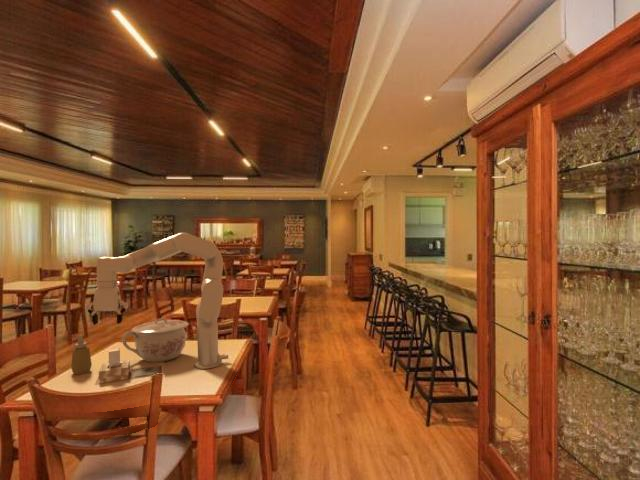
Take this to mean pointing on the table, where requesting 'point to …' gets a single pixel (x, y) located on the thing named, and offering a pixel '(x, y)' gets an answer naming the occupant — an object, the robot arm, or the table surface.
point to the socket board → (124, 372)
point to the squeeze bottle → (81, 358)
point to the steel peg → (114, 358)
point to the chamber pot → (158, 339)
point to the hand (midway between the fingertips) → (107, 323)
